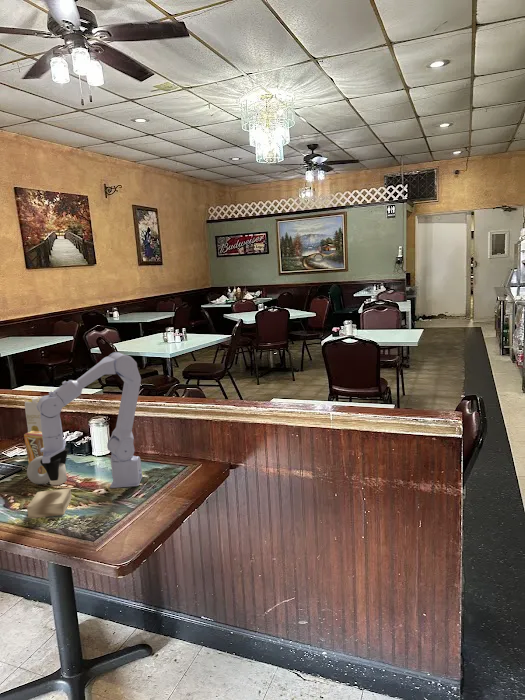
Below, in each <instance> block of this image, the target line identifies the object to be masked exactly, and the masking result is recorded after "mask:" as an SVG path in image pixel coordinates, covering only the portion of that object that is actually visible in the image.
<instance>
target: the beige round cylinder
mask: <svg viewBox="0 0 525 700" xmlns="http://www.w3.org/2000/svg"><path fill="white" fill-rule="evenodd" d="M49 481H50V482H49V484H50V485H52V486H56V485H57V486H58V485H62V484H65V483H66V482H67V481H68V478H67V469H66V463H65V464H64V463H59V476H58V480H54V481H51V480H50V478H49Z"/></svg>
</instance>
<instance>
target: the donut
mask: <svg viewBox="0 0 525 700" xmlns="http://www.w3.org/2000/svg"><path fill="white" fill-rule="evenodd" d="M42 457H43V456H39V457H37V458H35V459H34V460H32V461H31V462H30V464H29V463H28V465H27V468H26V476H27V478H28V480H29V481H30V482H31V483H33V484H36V485H45V483H46V484H49V483H50V481H49V476H48V473H47V472H46V473H45V474H39V473H38V468H39V467H40V466H42V465H41V463H40V460H41V459H42Z"/></svg>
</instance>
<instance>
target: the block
mask: <svg viewBox="0 0 525 700" xmlns="http://www.w3.org/2000/svg"><path fill="white" fill-rule="evenodd" d="M71 499H72V500H73V495H72V488H60V489H53V490H44V491H36V494H35V495H34V497H33V498H32V499H31V501H30V502H29V503H28V505H27V506H26V509H27V516H28V519H36V518H45V517H54V516H64V515H65V513H66V512H65V511H67V510H68V508H69V506H70V504H71V502H72V500H71ZM70 501H71V502H70ZM69 503H70V504H69ZM68 505H69V506H68ZM67 507H68V508H67ZM66 509H67V510H66Z"/></svg>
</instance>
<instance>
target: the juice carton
mask: <svg viewBox="0 0 525 700" xmlns="http://www.w3.org/2000/svg"><path fill="white" fill-rule="evenodd" d="M40 398H41V397H39V396H35V397H32V398H31V399H29V400H26V401H24V410H25V412H24V413H25V418H26V425H27V426H26V427H27V433H28V432H31V431H39V432H42V429H41V418H40V413H41V412H40V411H39V410H38V409H37V404H38V402H39V399H40Z"/></svg>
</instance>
